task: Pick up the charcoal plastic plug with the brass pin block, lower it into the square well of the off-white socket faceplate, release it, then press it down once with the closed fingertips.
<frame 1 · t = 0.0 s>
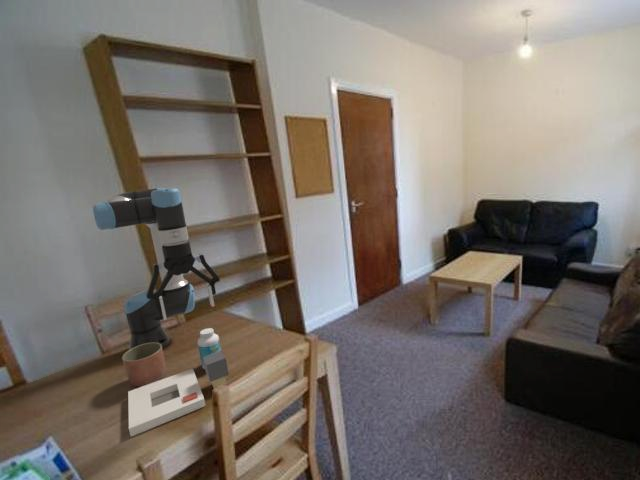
hand: (189, 311, 102), 28 cm above the table, fingers open, 13 cm apart
plug: (219, 385, 112), on the table
planter: (149, 379, 120), on the table
socket plate: (166, 402, 106), on the table
pill bottle: (213, 365, 125), on the table
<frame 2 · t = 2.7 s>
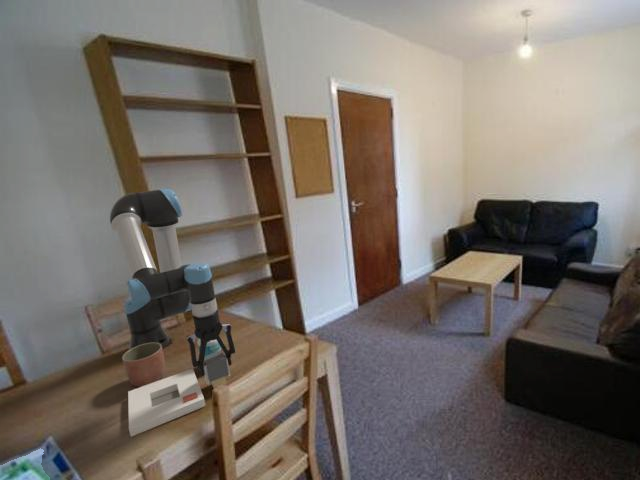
hand: (218, 378, 112), 2 cm above the table, fingers closed on plug, 6 cm apart
plug: (219, 385, 112), on the table, touching gripper
everything else where it was.
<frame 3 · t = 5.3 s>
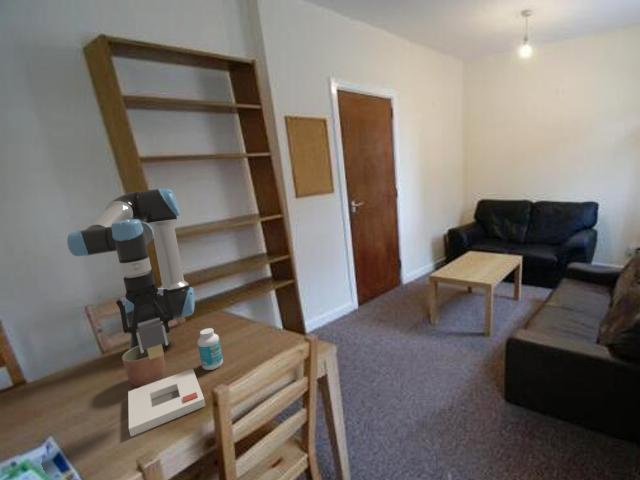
hand: (154, 347, 103), 19 cm above the table, fingers closed on plug, 6 cm apart
plug: (156, 354, 103), point 16 cm above the table, touching gripper
everything else where it was.
when the fingers open (3 cm above the table, at t = 7.9 s): plug stays where it is, resting on socket plate.
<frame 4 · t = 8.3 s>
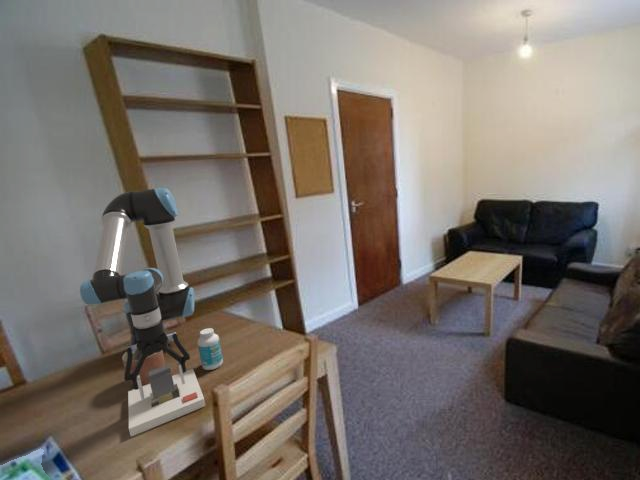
hand: (163, 389, 105), 4 cm above the table, fingers open, 11 cm apart
plug: (166, 401, 106), resting on socket plate
everything else where it was.
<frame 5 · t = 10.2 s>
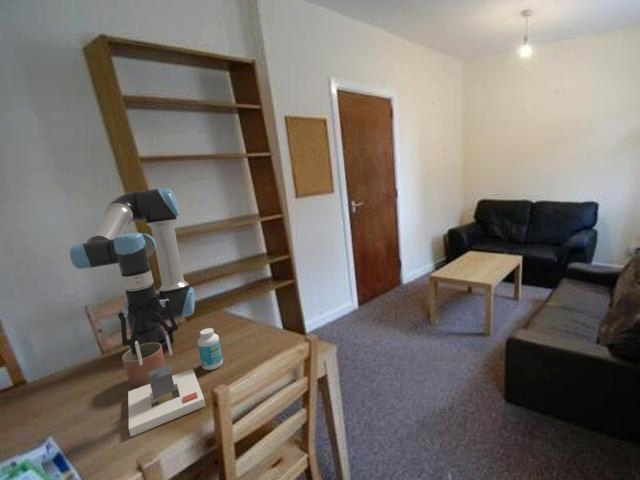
hand: (156, 358, 103), 15 cm above the table, fingers open, 8 cm apart
nothing on the table moved.
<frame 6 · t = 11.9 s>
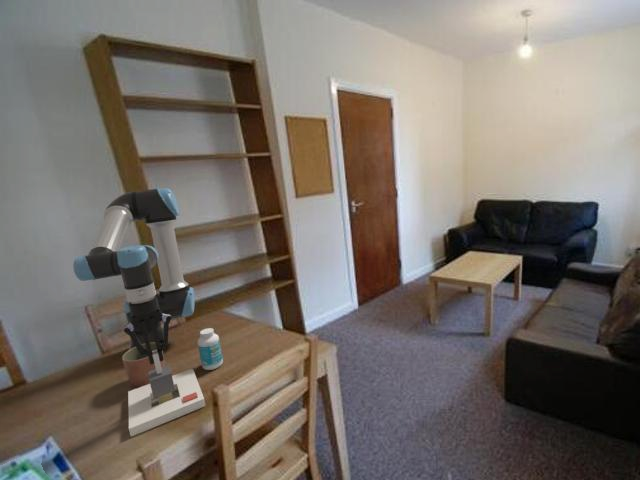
hand: (159, 371, 104), 11 cm above the table, fingers closed
nothing on the table moved.
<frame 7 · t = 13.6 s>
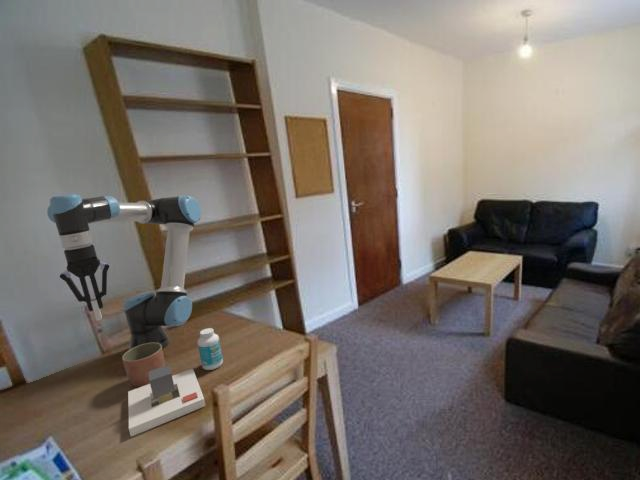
hand: (99, 318, 107), 27 cm above the table, fingers closed
nothing on the table moved.
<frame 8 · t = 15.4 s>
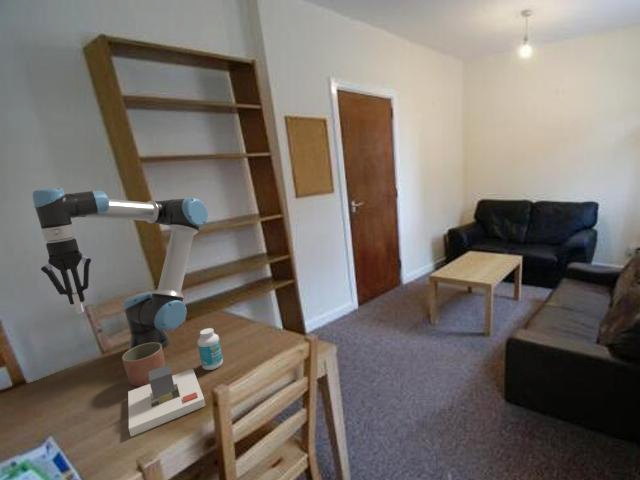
hand: (80, 312, 108), 29 cm above the table, fingers closed
nothing on the table moved.
at the end: plug 0.0 cm off-centre on the socket plate, point 0.3 cm above the socket plate's base; plug tilted 0°; the gripper is holding nothing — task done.
